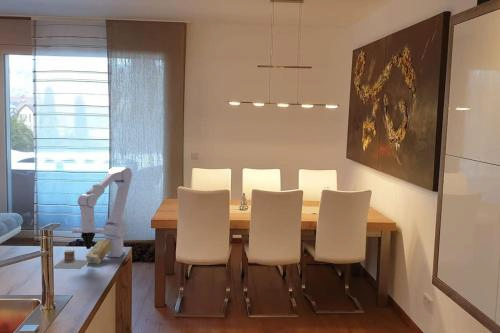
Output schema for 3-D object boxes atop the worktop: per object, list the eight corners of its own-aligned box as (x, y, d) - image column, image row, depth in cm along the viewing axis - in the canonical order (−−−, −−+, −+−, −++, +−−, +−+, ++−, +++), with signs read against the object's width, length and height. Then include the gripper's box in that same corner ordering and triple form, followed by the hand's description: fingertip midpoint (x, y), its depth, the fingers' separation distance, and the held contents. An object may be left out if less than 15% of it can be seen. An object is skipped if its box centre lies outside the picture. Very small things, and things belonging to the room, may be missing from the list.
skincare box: (85, 256, 223) (98, 238, 233) (87, 262, 225) (101, 245, 235) (97, 257, 221) (110, 240, 231) (99, 264, 223) (112, 247, 233)
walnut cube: (65, 258, 231) (65, 250, 231) (74, 258, 232) (74, 250, 232) (64, 260, 227) (64, 252, 227) (73, 260, 228) (73, 251, 228)
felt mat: (62, 260, 229) (62, 259, 229) (89, 260, 229) (89, 260, 228) (51, 268, 217) (51, 267, 217) (80, 269, 217) (80, 268, 217)
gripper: (68, 221, 216) (69, 250, 218) (100, 222, 216) (101, 251, 217) (74, 218, 223) (75, 246, 225) (105, 218, 223) (106, 246, 224)
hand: (88, 248), depth 222 cm, fingers closed
